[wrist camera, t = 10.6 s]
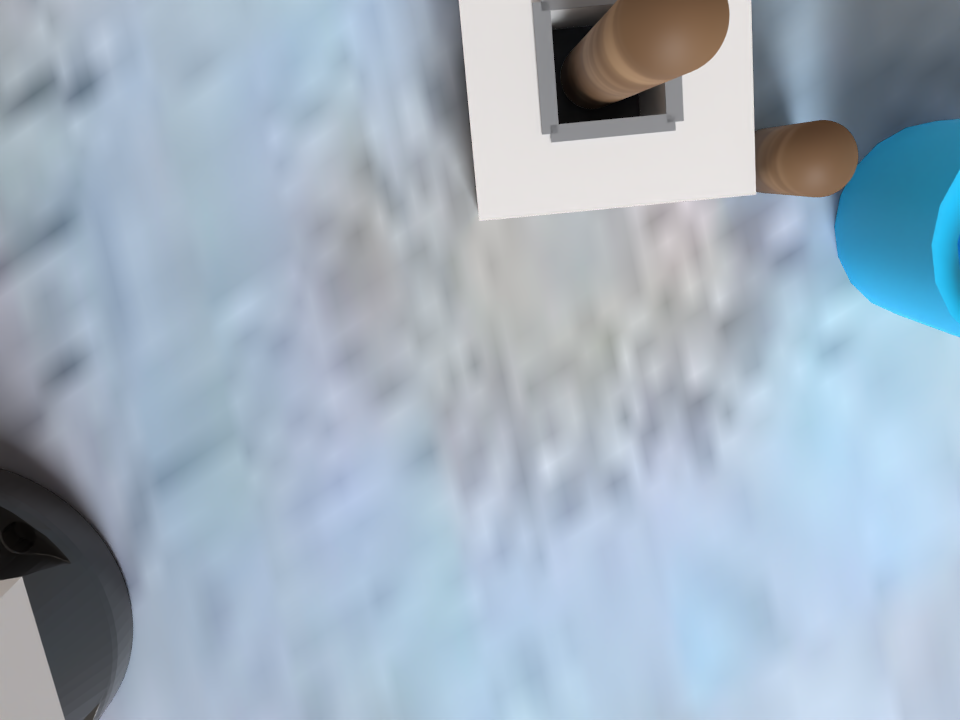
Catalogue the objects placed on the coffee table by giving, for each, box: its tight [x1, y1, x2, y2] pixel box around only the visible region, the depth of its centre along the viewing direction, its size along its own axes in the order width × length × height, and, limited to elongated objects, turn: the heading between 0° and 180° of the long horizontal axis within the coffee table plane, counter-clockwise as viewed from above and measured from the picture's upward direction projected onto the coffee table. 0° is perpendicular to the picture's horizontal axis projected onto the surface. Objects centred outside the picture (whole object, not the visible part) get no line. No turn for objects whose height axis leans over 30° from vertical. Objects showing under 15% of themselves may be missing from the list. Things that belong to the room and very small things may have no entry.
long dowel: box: [560, 0, 730, 109], centre depth 29 cm, size 3×3×15 cm
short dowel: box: [754, 120, 858, 197], centre depth 34 cm, size 3×3×6 cm
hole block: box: [459, 0, 756, 221], centre depth 33 cm, size 10×10×5 cm
